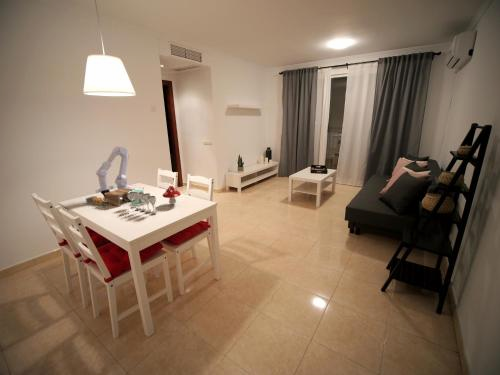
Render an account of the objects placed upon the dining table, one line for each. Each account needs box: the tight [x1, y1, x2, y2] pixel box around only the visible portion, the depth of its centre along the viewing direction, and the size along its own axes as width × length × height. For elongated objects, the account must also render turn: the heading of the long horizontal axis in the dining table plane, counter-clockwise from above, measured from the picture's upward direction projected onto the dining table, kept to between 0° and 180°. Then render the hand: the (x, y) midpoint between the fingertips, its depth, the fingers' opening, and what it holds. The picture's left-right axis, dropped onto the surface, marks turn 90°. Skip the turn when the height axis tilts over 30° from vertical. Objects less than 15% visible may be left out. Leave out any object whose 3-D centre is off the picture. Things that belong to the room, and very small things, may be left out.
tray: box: [85, 195, 107, 207], centre depth 186 cm, size 6×18×6 cm, turn 68°
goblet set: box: [127, 191, 158, 214], centre depth 170 cm, size 28×6×13 cm, turn 63°
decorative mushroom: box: [162, 185, 182, 205], centre depth 182 cm, size 14×14×15 cm
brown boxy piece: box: [104, 188, 136, 207], centre depth 187 cm, size 17×14×10 cm
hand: (106, 198), depth 195 cm, fingers closed
